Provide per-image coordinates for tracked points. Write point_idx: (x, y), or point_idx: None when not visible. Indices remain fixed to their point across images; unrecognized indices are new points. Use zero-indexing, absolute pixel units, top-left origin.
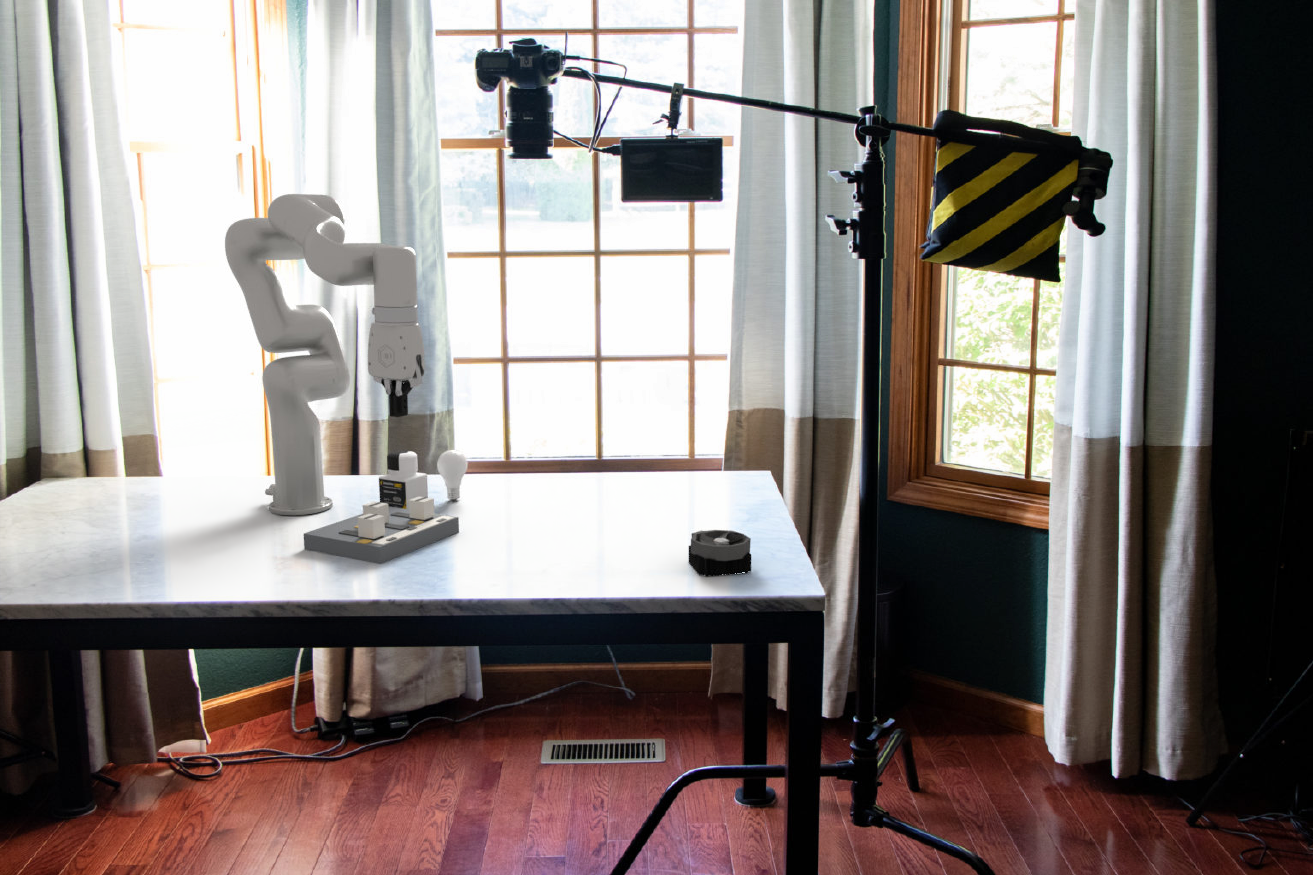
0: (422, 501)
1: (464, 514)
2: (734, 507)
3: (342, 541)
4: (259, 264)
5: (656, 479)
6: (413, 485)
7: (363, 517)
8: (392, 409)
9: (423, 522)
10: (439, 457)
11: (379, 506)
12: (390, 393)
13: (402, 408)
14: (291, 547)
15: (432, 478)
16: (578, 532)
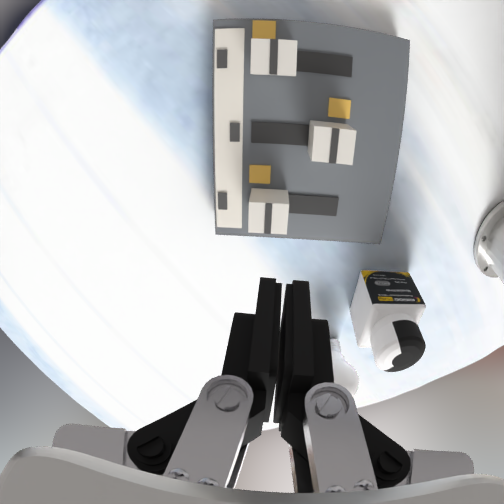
0: (254, 205)
1: None
2: (66, 377)
3: (311, 22)
4: None
5: None
6: (364, 312)
7: (285, 45)
8: (288, 306)
9: (249, 181)
10: (354, 385)
11: (314, 133)
12: (308, 392)
13: (232, 326)
14: (424, 48)
15: (398, 387)
16: (91, 281)
